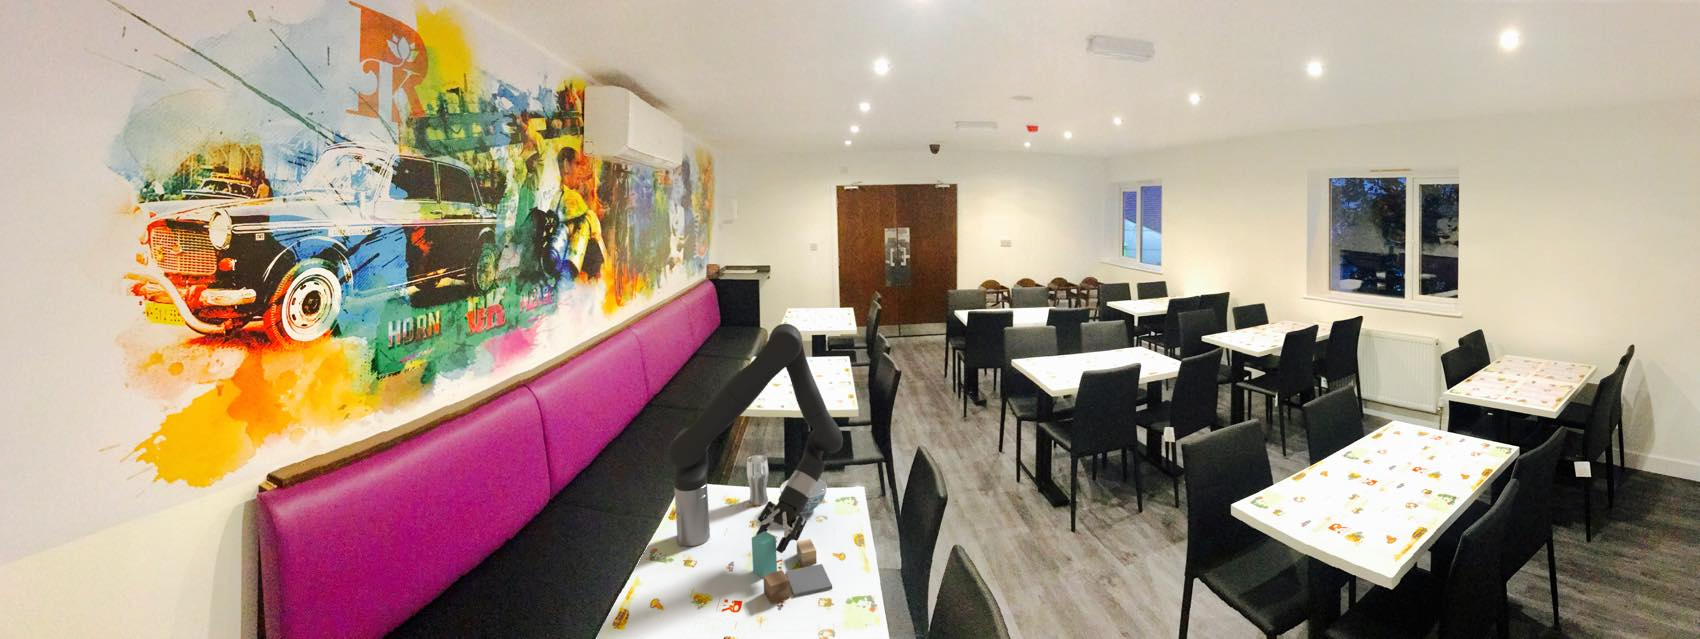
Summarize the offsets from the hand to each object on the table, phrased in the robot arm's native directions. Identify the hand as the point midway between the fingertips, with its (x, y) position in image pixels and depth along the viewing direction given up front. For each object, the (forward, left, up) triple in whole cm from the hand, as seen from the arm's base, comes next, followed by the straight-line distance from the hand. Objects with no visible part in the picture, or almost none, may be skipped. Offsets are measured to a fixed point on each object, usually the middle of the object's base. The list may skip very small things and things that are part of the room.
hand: (768, 545), depth 159 cm
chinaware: (+17, +28, -7) cm, 34 cm away
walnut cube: (0, -12, -7) cm, 14 cm away
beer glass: (+4, +38, -7) cm, 39 cm away
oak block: (+11, +1, -7) cm, 13 cm away
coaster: (+9, -9, -7) cm, 14 cm away
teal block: (-1, -1, -7) cm, 7 cm away
